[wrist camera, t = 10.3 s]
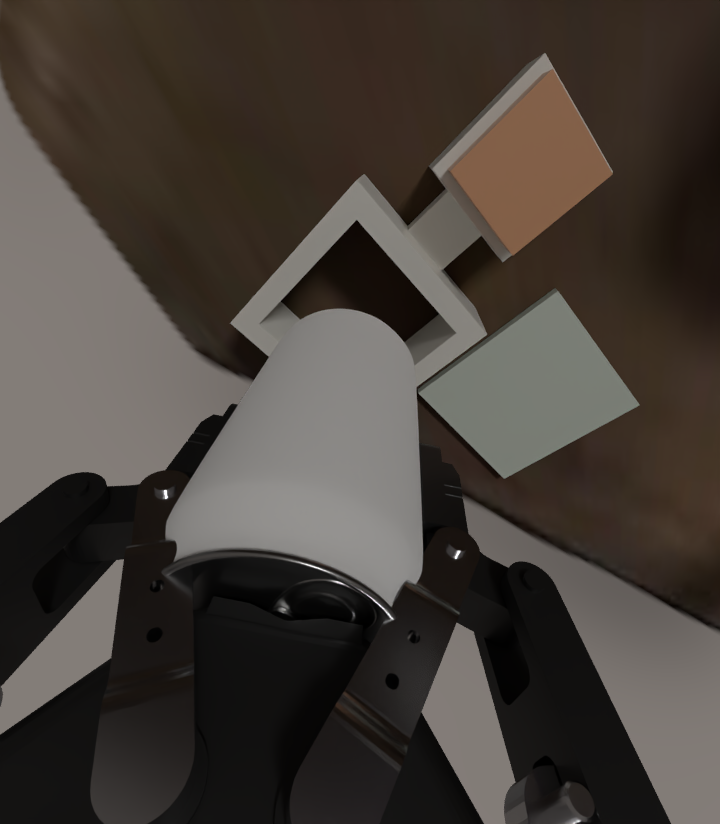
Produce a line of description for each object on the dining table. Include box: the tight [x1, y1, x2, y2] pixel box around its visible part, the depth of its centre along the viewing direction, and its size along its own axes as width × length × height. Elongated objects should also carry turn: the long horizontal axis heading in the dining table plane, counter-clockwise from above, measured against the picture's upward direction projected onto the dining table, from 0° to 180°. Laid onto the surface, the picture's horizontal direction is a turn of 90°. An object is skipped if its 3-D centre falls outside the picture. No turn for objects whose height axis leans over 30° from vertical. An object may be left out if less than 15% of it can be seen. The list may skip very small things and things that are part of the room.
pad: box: [418, 288, 639, 479], centre depth 29 cm, size 11×11×1 cm
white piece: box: [231, 53, 613, 387], centre depth 23 cm, size 10×19×4 cm, turn 134°
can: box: [162, 309, 423, 643], centre depth 13 cm, size 6×6×12 cm
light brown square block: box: [447, 69, 613, 255], centre depth 20 cm, size 5×5×4 cm
